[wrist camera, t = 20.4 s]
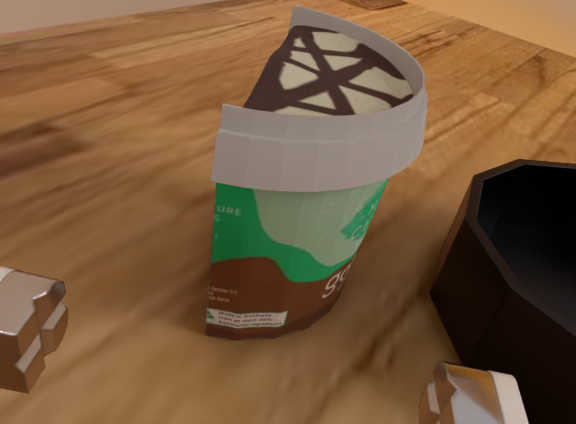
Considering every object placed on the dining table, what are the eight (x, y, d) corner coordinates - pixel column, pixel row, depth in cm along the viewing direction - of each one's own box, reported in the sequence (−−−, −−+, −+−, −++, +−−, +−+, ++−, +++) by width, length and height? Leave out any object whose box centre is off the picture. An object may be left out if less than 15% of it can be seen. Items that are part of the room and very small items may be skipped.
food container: (359, 408, 18) (461, 169, 13) (192, 365, 19) (216, 112, 13) (372, 214, 28) (432, 32, 23) (263, 188, 29) (295, 1, 23)
